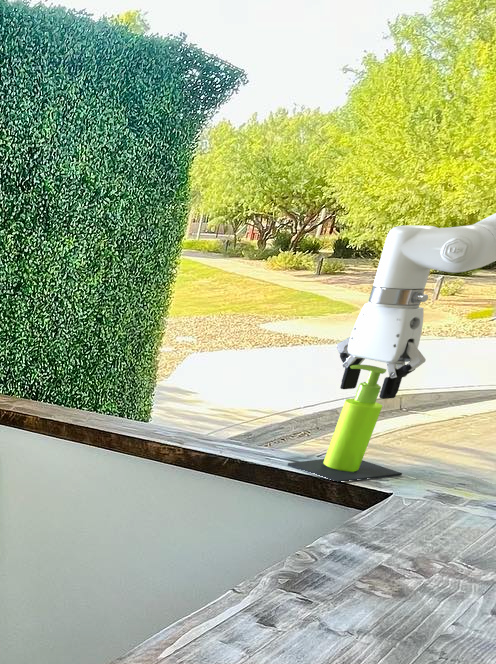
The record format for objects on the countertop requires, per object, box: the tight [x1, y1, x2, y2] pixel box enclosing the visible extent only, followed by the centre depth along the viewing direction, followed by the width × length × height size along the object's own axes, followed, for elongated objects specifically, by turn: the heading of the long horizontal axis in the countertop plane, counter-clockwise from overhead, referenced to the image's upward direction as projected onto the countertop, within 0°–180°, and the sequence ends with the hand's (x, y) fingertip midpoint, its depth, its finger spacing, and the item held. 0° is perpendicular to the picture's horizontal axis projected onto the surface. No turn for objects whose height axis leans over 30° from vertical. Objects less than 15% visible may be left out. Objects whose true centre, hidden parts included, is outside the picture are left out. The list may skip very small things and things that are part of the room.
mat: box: [287, 458, 403, 482], centre depth 152 cm, size 16×11×1 cm
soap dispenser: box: [323, 364, 388, 472], centre depth 148 cm, size 6×7×20 cm
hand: (367, 392), depth 146 cm, fingers open, 7 cm apart
